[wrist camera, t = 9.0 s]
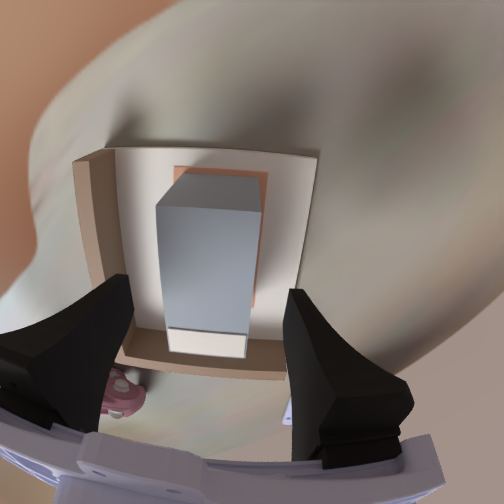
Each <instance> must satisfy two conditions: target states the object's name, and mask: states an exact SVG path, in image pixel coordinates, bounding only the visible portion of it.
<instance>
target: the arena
mask: <svg viewBox="0 0 504 504" xmlns="http://www.w3.org/2000/svg"><path fill="white" fill-rule="evenodd" d="M72 165H73V176H74V186H75V195H76V203H77V210H78V217H79V223H80V229H81V235H82V241H83V246H84V251H85V256H86V261H87V266H88V270H89V275H90V279H91V283H92V287H93V290H94V289H95V288H96V287H98V286H99V285H100V284H102V283H103V282H105V281H106V280H107V279H109V278H110V277H112V276H113V275H115V274H116V273H118V274H127V275H129V281H130V287H131V293H132V299H133V304H134V309H135V310H134V313H133V317H132V320H131V323H130V327H129V329H128V332H127V334H126V336H125V338H124V341H123V343H122V345H121V347H120V350H119V352H118V354H117V356H116V359H115V363H119V364H124V365H130V366H136V367H141V368H147V369H154V370H161V371H168V372H175V373H183V374H192V375H201V376H211V377H223V378H237V379H255V380H285V376H286V373H287V369H286V359H285V351H284V344H283V324H282V323H283V318H284V313H285V308H286V303H287V298H288V293H289V288H294V289H295V284H296V279H297V274H298V269H299V264H300V259H301V253H302V248H303V243H304V237H305V232H306V226H307V220H308V214H309V209H310V203H311V197H312V190H313V184H314V178H315V171H316V165H317V159H316V158H315V157H307V156H299V155H291V154H281V153H272V152H261V151H249V150H236V149H220V148H198V147H113V148H102V149H100V150H97V151H95V152H93V153H91V154H88V155H86V156H84V157H82V158H80V159H77V160H75V161H73V162H72ZM183 173H200V174H218V175H233V176H247V177H259V187H260V199H261V212H262V213H261V222H260V231H259V241H258V250H257V259H256V268H255V277H254V286H253V295H252V304H251V313H250V322H249V331H248V340H247V349H246V358H231V357H218V356H207V355H197V354H188V353H179V352H171V351H169V345H168V338H167V331H166V323H165V316H164V307H163V299H162V290H161V280H160V269H159V257H158V244H157V229H156V209H155V205H156V204H157V203H158V202H159V200H160V199H161V198H162V197H163V196H164V194H165V193H166V192H167V191H168V190H169V189H170V187H171V186H172V185H173V184H174V183H175V182H176V180H177V179H178V178H179V177H180V176H181V175H182V174H183Z"/></svg>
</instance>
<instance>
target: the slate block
mask: <svg viewBox="0 0 504 504" xmlns="http://www.w3.org/2000/svg"><path fill="white" fill-rule="evenodd" d="M155 209H156V229H157V244H158V257H159V269H160V280H161V290H162V299H163V307H164V316H165V323H166V331H167V338H168V345H169V351H171V352H179V353H188V354H197V355H207V356H218V357H231V358H246V349H247V340H248V331H249V322H250V313H251V304H252V295H253V286H254V277H255V268H256V259H257V250H258V241H259V231H260V222H261V213H262V212H261V199H260V187H259V177H247V176H233V175H218V174H200V173H183V174H182V175H181V176H180V177H179V178H178V179H177V180H176V182H175V183H174V184H173V185H172V186H171V187H170V189H169V190H168V191H167V192H166V193H165V194H164V196H163V197H162V198H161V199H160V200H159V202H158V203H157V204H156V205H155Z"/></svg>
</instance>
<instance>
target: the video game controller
mask: <svg viewBox="0 0 504 504" xmlns="http://www.w3.org/2000/svg"><path fill="white" fill-rule="evenodd" d="M145 398H146V393H145V389H144V387H143V386H141V385H134V384H133V383H131V382H130V381H129V380H127V379H126V376H125V374H124V373H123V372H122V371H121V370H119V369H116V368H111V371H110V374H109V378H108V382H107V385H106V389H105V393H104V398H103V402H102V407H101V413H100V414H108V415H110V416H111V417H113V418H115V419H119V418H121V417H128V416H131V415H132V414H134V413H135V412H136V411H138V410H139V409H140V408H141V407H142V406H143V404H144V401H145Z"/></svg>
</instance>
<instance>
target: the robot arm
mask: <svg viewBox="0 0 504 504" xmlns="http://www.w3.org/2000/svg"><path fill="white" fill-rule="evenodd" d="M134 310H135V309H134V304H133V299H132V293H131V287H130V281H129V275H127V274H118V273H116V274H115V275H113V276H112V277H110V278H109V279H107V280H106V281H105V282H103V283H102V284H100V285H99V286H98V287H96V288H95V289H94V290H92V291H91V292H89V293H88V294H87V295H85V296H84V297H82V298H81V299H79V300H78V301H76V302H75V303H73V304H72V305H70V306H69V307H67V308H65V309H64V310H62V311H60V312H58V313H56V314H55V315H53V316H51V317H49V318H46V319H44V320H42V321H40V322H37V323H35V324H33V325H30V326H27V327H25V328H22V329H19V330H15V331H12V332H8V333H4V334H0V456H1V457H2V458H4V459H6V460H7V461H9V462H10V463H12V464H14V465H15V466H17V467H19V468H21V469H22V470H24V471H26V472H28V473H29V474H31V475H33V476H35V477H37V478H38V479H40V480H42V481H44V482H46V483H48V484H50V485H52V486H54V487H56V488H57V490H56V494H55V497H54V501H53V504H416V501H417V500H419V499H421V498H423V497H425V496H426V495H428V494H430V493H432V492H433V491H435V490H437V489H438V488H440V487H442V486H443V485H445V479H444V476H443V472H442V469H441V465H440V462H439V460H438V456H437V453H436V450H435V447H434V444H433V441H432V438H431V435H430V434H425V435H422V436H417V437H413V438H409V439H406V440H404V441H402V442H399V439H398V436H399V435H400V434H401V431H400V428H399V425H400V424H401V423H402V421H403V420H404V419H405V418H406V417H407V416H408V415H409V413H410V412H411V411H412V409H413V407H414V400H413V397H412V394H411V392H410V389H409V387H408V385H407V383H406V381H404V380H402V379H400V378H398V377H396V376H394V375H392V374H390V373H388V372H387V371H385V370H383V369H382V368H380V367H378V366H377V365H375V364H374V363H372V362H371V361H369V360H368V359H367V358H365V357H364V356H363V355H361V354H360V353H359V352H357V351H356V350H355V349H354V348H353V347H351V346H350V345H349V344H348V343H347V342H346V341H345V340H344V339H343V338H342V337H341V336H340V335H339V334H338V333H337V332H336V331H335V330H334V329H333V328H332V327H331V325H330V324H329V323H328V322H327V321H326V319H325V318H324V317H323V316H322V314H321V313H320V312H319V310H318V309H317V308H316V306H315V305H314V304H313V302H312V301H311V299H310V298H309V297H308V295H307V294H306V292H305V291H304V290H303V289H294V288H289V293H288V298H287V303H286V308H285V313H284V318H283V323H282V324H283V344H284V351H285V357H286V363H287V369H288V375H289V381H290V388H291V397H290V400H289V402H288V405H287V408H286V411H285V414H284V416H283V419H282V423H283V424H285V425H292V462H247V461H246V462H245V461H244V462H243V461H228V460H215V459H205V458H201V457H200V456H197V455H195V454H192V453H190V452H187V451H183V450H179V449H174V448H169V447H163V446H157V445H152V444H147V443H142V442H137V441H133V440H129V439H124V438H120V437H116V436H112V435H109V434H105V433H99V432H98V425H99V419H100V413H101V407H102V402H103V398H104V393H105V389H106V385H107V382H108V378H109V374H110V371H111V368H112V366H113V363H114V361H115V359H116V356H117V354H118V352H119V350H120V347H121V345H122V343H123V341H124V338H125V336H126V334H127V332H128V329H129V327H130V323H131V320H132V317H133V313H134Z"/></svg>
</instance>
